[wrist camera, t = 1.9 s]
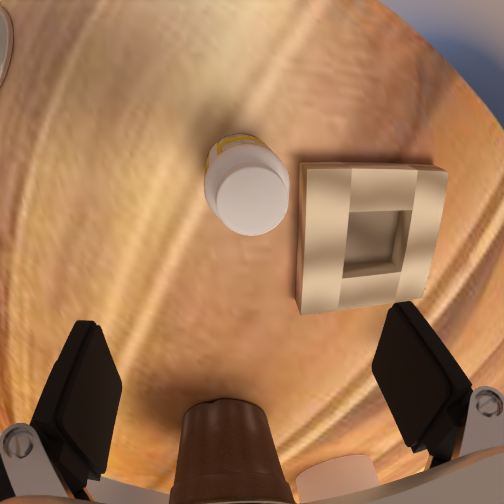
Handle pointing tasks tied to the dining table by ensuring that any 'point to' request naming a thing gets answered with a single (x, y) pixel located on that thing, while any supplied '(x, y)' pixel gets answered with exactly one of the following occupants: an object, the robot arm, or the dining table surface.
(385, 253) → the socket block
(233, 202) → the supplement bottle
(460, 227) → the dining table surface
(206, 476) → the plant pot
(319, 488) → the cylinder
